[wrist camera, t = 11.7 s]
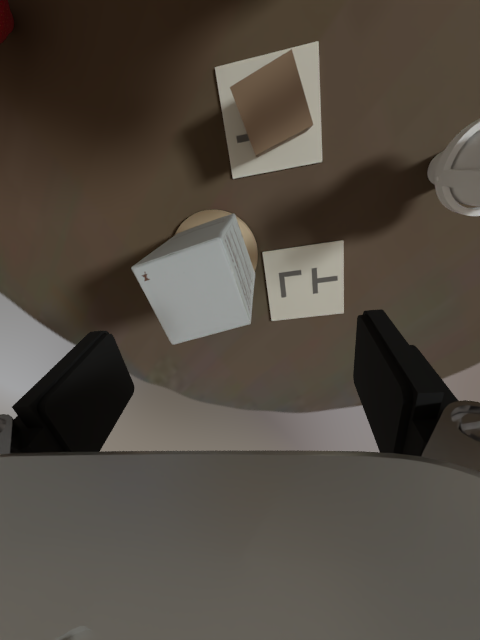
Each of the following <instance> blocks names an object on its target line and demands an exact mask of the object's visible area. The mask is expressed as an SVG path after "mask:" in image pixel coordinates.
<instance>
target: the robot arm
mask: <svg viewBox="0 0 480 640" xmlns="http://www.w3.org/2000/svg"><path fill="white" fill-rule="evenodd" d="M353 377H354V384H355V387H356V389H357V392H358V395H359V397H360V400H361V403H362V405H363V408H364V411H365V413H366V416H367V419H368V421H369V424H370V427H371V429H372V432H373V435H374V437H375V440H376V443H377V445H378V448H379V451H380V453H378V452H358V451H122V452H121V451H117V452H116V451H112V452H99V451H100V450H101V448H102V446H103V444H104V443H105V441H106V439H107V438H108V436H109V434H110V432H111V431H112V429H113V427H114V426H115V424H116V422H117V420H118V419H119V417H120V415H121V414H122V412H123V410H124V408H125V407H126V405H127V403H128V401H129V400H130V398H131V397H132V395H133V392H134V384H133V382H132V379H131V377H130V375H129V372H128V370H127V367H126V365H125V363H124V360H123V358H122V356H121V353H120V351H119V349H118V346H117V344H116V341H115V339H114V337H113V335H112V334H109V333H108V332H107V331H94V332H90V333H89V334H87V335H86V336H85V337H84V338H83V339H82V340H81V341H80V342H79V343H78V344H77V345H76V346H75V347H74V348H73V349H72V350H71V351H70V352H69V353H68V354H67V355H66V356H65V357H64V358H63V359H62V360H60V361H59V362H58V363H57V364H56V365H55V366H54V367H53V368H52V369H51V370H50V371H49V372H48V373H47V374H46V375H45V376H44V377H43V378H42V379H41V380H40V381H39V382H38V383H36V384H35V385H34V386H33V388H31V389H30V390H29V391H28V392H27V393H26V394H25V395H24V396H23V397H22V398H21V399H20V400H19V401H18V402H17V403H16V404H15V405H14V406H13V407H12V408H13V409H14V411H15V412H16V413H17V415H18V416H17V417H16V418H15V419H13V418H12V417H11V416H9V415H5V414H2V415H0V640H480V403H479V402H474V401H458V400H457V399H456V397H455V396H454V395H453V393H452V392H451V391H450V390H449V388H448V387H447V386H446V384H445V383H444V382H443V381H442V379H441V378H440V377H439V375H438V374H437V373H436V372H435V370H434V369H433V368H432V366H431V365H430V364H429V363H428V361H427V360H426V359H425V357H424V356H423V355H422V354H421V352H420V351H419V350H418V348H417V347H415V346H414V345H409V344H408V343H407V342H406V340H405V339H404V338H403V336H402V335H401V333H400V332H399V331H398V329H397V328H396V327H395V325H394V324H393V323H392V321H391V320H390V319H389V317H388V316H387V315H386V313H385V312H384V311H383V310H369V311H364V313H363V315H359V316H358V318H357V331H356V345H355V360H354V374H353Z"/></svg>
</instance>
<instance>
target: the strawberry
mask: <svg viewBox="0 0 480 640" xmlns="http://www.w3.org/2000/svg"><path fill="white" fill-rule="evenodd" d="M13 28H14V19H13V16H12V13H11V11H10V7H9V3H8V0H0V44H1V43H2V42H3V41H4V40H5V39H6V37H7V36H8V34H9V33H11V32H12V30H13Z"/></svg>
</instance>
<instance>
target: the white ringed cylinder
mask: <svg viewBox="0 0 480 640" xmlns="http://www.w3.org/2000/svg"><path fill="white" fill-rule="evenodd" d="M427 175H428V179H429V181H430V182H431V183H433V184H434V185H435V189H436V193H437V196H438V198H439V200H440V202H441V203H442V204H443V205H444V206H445V207H446V208H447V209H449V210H451V211H453V212H455V213H459V214H464V215H468V216H480V119H478V120H476V121H474V122H473V123H471V124H469V125H468V126H467V127H465V128H464V129H463V130H461V131H460V132H459V133H458V134H457V135H456V136H455V137H454V138H453V139H452V141H451V142H450V143H449V144H448V146H447V147H446V149H445V150H444V151H442V152H440V153H439V154H437V155H436V156H435V157H434V158H433V159H432V161H431V162H430V164H429V167H428V171H427ZM456 201H457V202H459V203H462V204H466V205H472V206H478V207H476V208H465V207H463V206H461V205H460V204H459V203H457V202H456Z"/></svg>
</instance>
